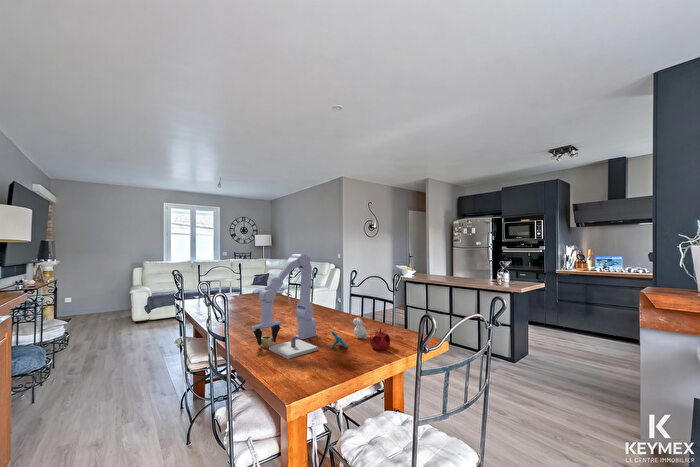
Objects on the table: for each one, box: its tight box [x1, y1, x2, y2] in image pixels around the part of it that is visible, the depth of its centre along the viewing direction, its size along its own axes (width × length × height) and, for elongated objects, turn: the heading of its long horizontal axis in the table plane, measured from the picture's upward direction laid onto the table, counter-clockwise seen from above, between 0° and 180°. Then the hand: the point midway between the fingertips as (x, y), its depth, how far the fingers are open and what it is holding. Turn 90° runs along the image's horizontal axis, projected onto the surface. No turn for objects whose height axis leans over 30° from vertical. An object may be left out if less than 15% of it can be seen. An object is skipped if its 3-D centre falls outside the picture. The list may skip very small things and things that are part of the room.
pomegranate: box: [368, 327, 391, 351], centre depth 147 cm, size 10×10×9 cm
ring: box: [259, 335, 274, 349], centre depth 151 cm, size 6×6×4 cm
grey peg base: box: [268, 335, 319, 360], centre depth 145 cm, size 16×16×6 cm
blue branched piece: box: [330, 331, 348, 349], centre depth 148 cm, size 11×6×10 cm
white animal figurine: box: [352, 317, 368, 340], centre depth 164 cm, size 12×8×11 cm
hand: (266, 343), depth 151 cm, fingers open, 7 cm apart
